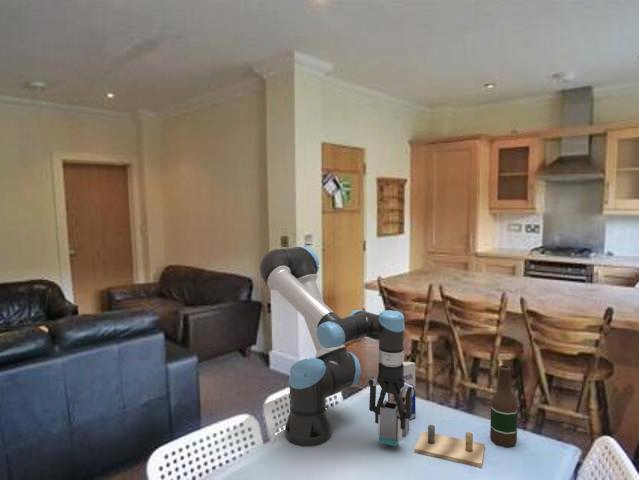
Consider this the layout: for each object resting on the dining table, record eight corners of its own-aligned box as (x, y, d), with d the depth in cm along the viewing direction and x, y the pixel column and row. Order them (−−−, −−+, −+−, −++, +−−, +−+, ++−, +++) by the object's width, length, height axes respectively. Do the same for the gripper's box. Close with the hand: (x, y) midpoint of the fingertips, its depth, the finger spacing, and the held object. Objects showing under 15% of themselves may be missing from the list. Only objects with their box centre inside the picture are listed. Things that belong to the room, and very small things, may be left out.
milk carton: (400, 423, 147) (399, 366, 146) (387, 415, 153) (387, 360, 152) (415, 418, 151) (416, 362, 149) (403, 410, 157) (403, 356, 155)
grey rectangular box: (378, 442, 132) (379, 407, 131) (384, 433, 137) (384, 400, 136) (396, 446, 130) (396, 411, 129) (400, 437, 135) (401, 403, 134)
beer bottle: (520, 449, 131) (521, 372, 129) (492, 447, 132) (493, 370, 130) (513, 436, 138) (515, 362, 136) (488, 433, 140) (489, 361, 138)
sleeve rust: (389, 433, 141) (389, 401, 140) (394, 426, 146) (393, 394, 145) (406, 437, 139) (406, 404, 138) (410, 429, 143) (410, 397, 143)
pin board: (414, 452, 130) (414, 432, 130) (422, 434, 140) (422, 416, 140) (481, 467, 122) (482, 446, 122) (484, 447, 132) (485, 428, 132)
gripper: (358, 362, 131) (357, 434, 134) (418, 372, 124) (417, 449, 126) (366, 353, 138) (365, 423, 141) (424, 363, 130) (422, 436, 133)
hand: (389, 435), depth 133 cm, fingers closed on grey rectangular box, 5 cm apart
